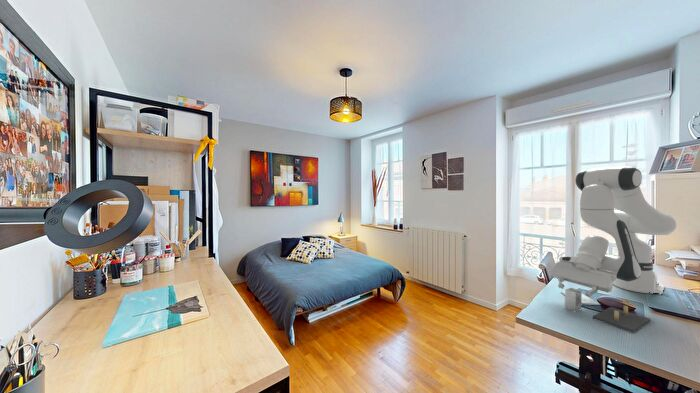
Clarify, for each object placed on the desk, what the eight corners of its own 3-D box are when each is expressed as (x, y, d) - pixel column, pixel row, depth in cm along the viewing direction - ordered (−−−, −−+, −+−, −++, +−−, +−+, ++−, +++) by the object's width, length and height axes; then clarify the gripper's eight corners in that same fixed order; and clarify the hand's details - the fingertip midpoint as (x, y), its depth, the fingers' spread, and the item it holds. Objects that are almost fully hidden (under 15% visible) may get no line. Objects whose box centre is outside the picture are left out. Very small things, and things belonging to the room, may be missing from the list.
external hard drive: (580, 295, 120) (600, 307, 108) (560, 294, 121) (578, 306, 109) (580, 291, 120) (600, 303, 107) (560, 290, 121) (578, 302, 109)
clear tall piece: (570, 305, 109) (571, 287, 108) (581, 309, 105) (581, 290, 105) (564, 308, 107) (565, 289, 106) (575, 311, 103) (575, 293, 103)
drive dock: (610, 309, 105) (611, 298, 105) (650, 321, 95) (650, 310, 95) (592, 318, 98) (592, 307, 98) (633, 332, 88) (633, 320, 88)
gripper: (620, 277, 102) (609, 305, 98) (560, 263, 120) (549, 287, 116) (615, 268, 100) (604, 297, 96) (556, 255, 118) (544, 279, 114)
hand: (573, 291), depth 106 cm, fingers open, 8 cm apart
